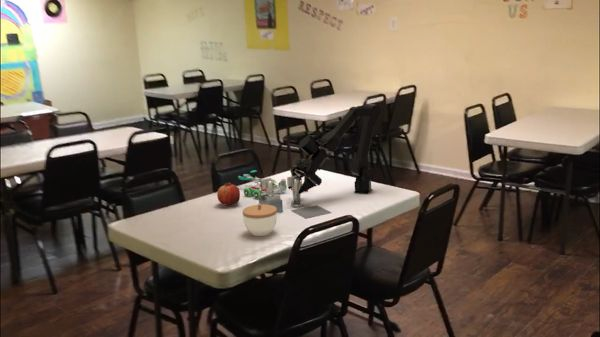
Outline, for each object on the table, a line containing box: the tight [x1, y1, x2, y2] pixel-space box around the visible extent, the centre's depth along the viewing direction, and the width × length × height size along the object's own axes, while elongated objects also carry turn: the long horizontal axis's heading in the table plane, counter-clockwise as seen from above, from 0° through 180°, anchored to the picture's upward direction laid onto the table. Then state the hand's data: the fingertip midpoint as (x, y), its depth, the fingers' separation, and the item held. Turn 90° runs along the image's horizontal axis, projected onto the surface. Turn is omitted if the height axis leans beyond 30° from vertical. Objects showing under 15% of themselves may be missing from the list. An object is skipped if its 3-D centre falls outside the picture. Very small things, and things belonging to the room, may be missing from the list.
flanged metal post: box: [286, 175, 304, 209], centre depth 247 cm, size 6×5×13 cm
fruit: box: [216, 181, 241, 207], centre depth 252 cm, size 11×10×10 cm
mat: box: [290, 204, 332, 219], centre depth 240 cm, size 12×12×1 cm
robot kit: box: [237, 169, 288, 200], centre depth 270 cm, size 19×25×9 cm
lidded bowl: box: [242, 203, 278, 237], centre depth 217 cm, size 13×13×11 cm
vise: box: [258, 177, 284, 213], centre depth 243 cm, size 7×10×14 cm
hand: (293, 191), depth 246 cm, fingers open, 8 cm apart
